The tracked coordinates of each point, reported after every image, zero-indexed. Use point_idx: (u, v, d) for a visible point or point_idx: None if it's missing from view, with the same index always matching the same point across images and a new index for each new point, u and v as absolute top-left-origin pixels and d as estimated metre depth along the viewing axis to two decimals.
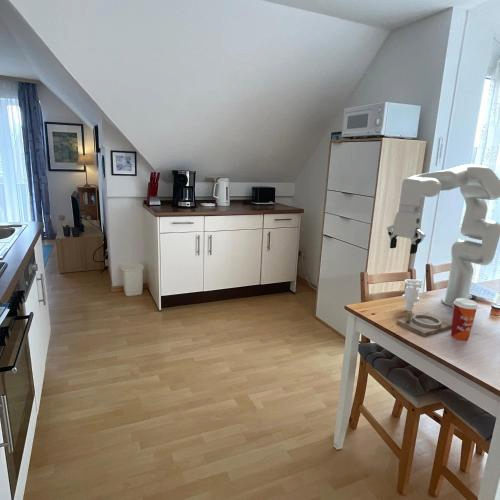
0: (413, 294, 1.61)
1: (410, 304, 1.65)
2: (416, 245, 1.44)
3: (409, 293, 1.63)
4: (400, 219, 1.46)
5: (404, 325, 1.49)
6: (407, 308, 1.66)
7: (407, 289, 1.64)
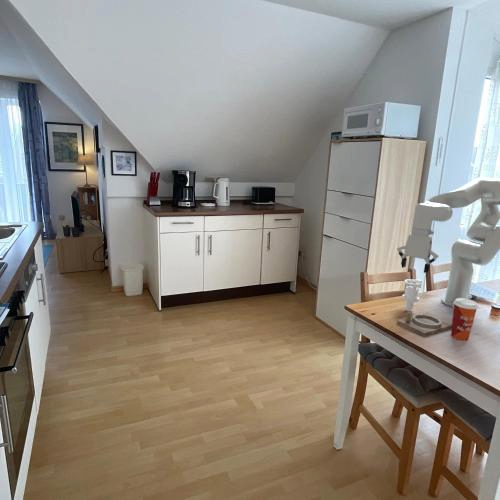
0: (413, 294, 1.61)
1: (410, 304, 1.65)
2: (429, 265, 1.57)
3: (409, 293, 1.63)
4: (413, 241, 1.58)
5: (404, 325, 1.49)
6: (407, 308, 1.66)
7: (407, 289, 1.64)
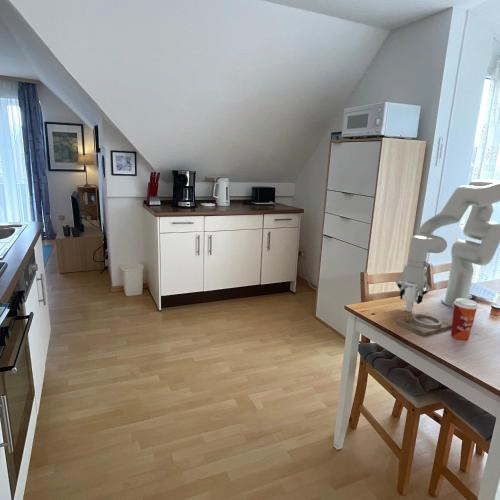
0: (413, 294, 1.62)
1: (410, 304, 1.65)
2: (422, 296, 1.62)
3: (409, 293, 1.63)
4: (409, 273, 1.62)
5: (404, 325, 1.49)
6: (407, 308, 1.66)
7: (407, 289, 1.64)
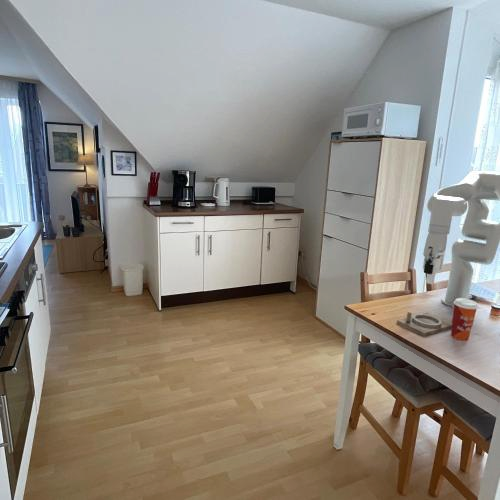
0: None
1: None
2: None
3: (440, 263, 1.45)
4: (442, 241, 1.42)
5: (404, 325, 1.49)
6: (433, 281, 1.48)
7: (438, 260, 1.44)
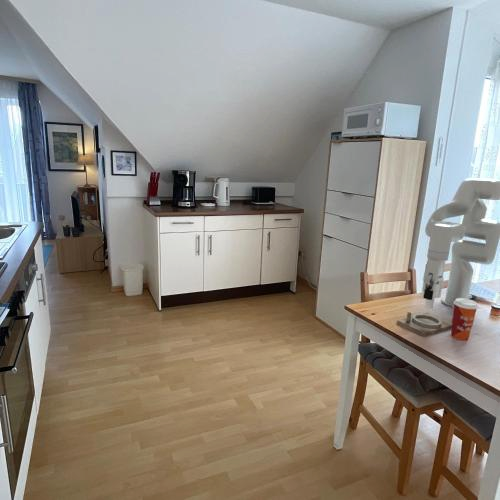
0: None
1: None
2: None
3: (439, 288, 1.46)
4: (441, 267, 1.43)
5: (404, 325, 1.49)
6: (432, 306, 1.48)
7: (438, 285, 1.45)
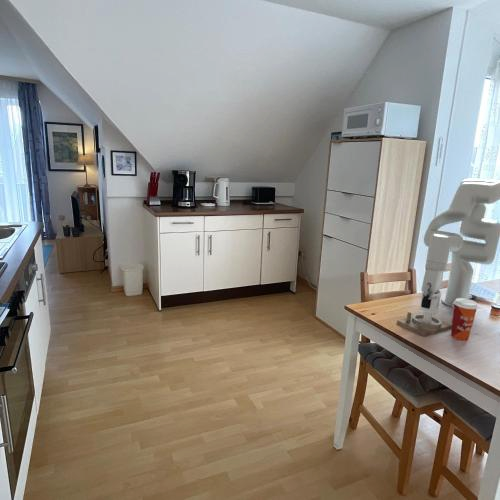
0: None
1: None
2: None
3: (437, 303, 1.47)
4: (439, 277, 1.44)
5: (404, 325, 1.49)
6: (430, 320, 1.50)
7: (436, 301, 1.46)
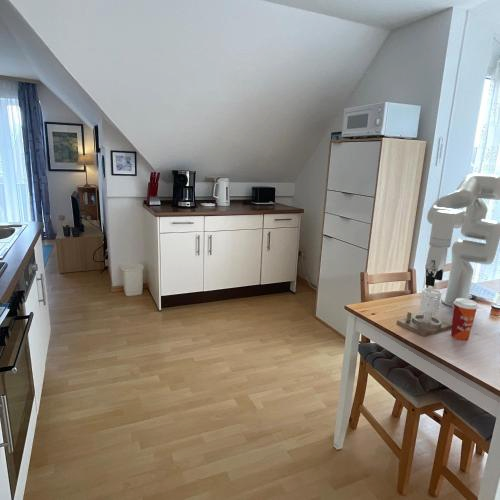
0: None
1: None
2: None
3: (437, 303, 1.48)
4: (444, 254, 1.42)
5: (404, 325, 1.49)
6: (430, 320, 1.50)
7: (436, 301, 1.47)
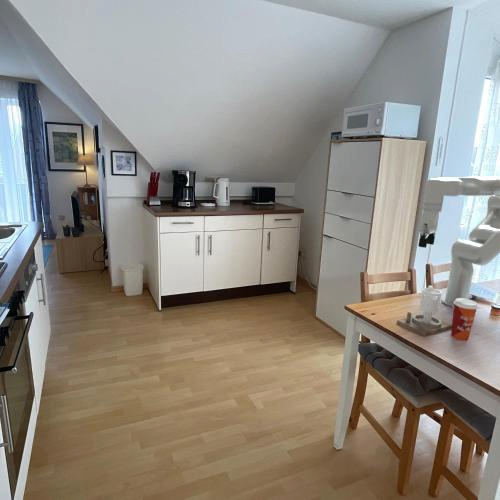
0: None
1: None
2: None
3: (437, 303, 1.48)
4: (435, 218, 1.56)
5: (404, 325, 1.49)
6: (430, 320, 1.50)
7: (436, 301, 1.47)
